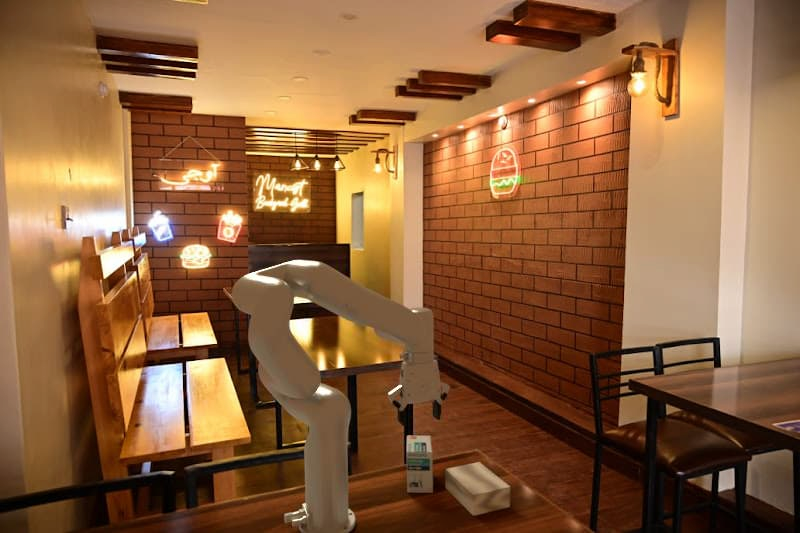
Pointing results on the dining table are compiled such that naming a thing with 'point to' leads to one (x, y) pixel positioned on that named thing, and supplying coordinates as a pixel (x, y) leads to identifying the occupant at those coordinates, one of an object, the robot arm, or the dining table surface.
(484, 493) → the ash block
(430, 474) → the light bulb box
